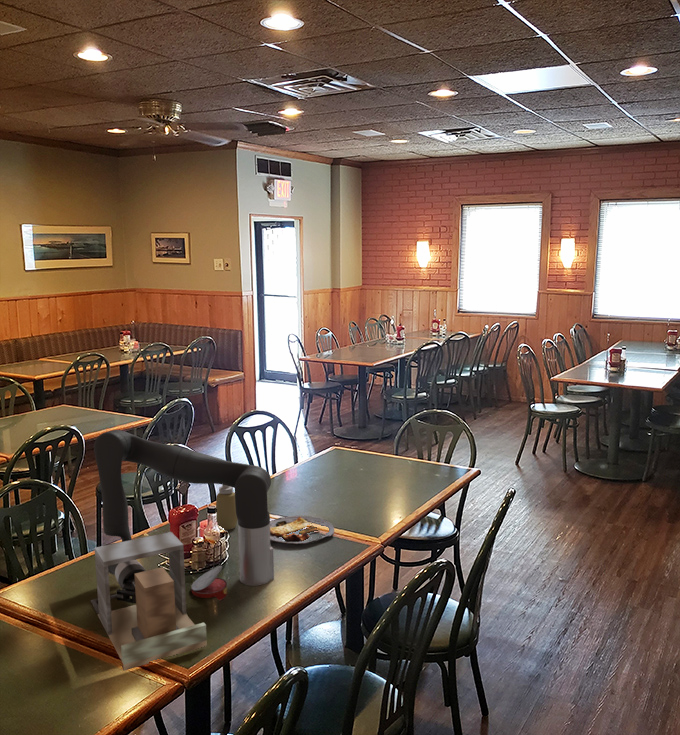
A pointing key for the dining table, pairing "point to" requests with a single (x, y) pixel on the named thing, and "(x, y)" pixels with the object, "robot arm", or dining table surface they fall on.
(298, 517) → the food plate
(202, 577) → the canned food
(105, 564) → the tunnel
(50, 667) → the dining table surface
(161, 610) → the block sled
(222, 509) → the squeeze bottle
